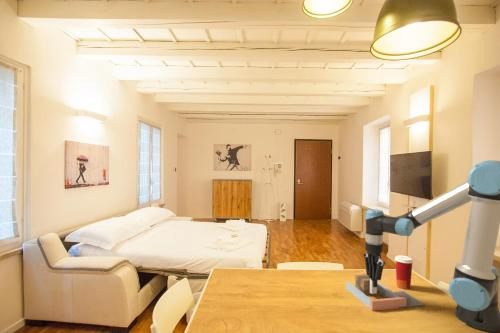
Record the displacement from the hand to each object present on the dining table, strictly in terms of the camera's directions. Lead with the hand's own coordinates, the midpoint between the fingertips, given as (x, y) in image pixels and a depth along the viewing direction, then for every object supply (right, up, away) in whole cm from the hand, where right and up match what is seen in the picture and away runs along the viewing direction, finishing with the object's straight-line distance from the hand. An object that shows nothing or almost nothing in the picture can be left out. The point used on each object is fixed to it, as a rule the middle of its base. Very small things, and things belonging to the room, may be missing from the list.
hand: (373, 292), depth 130 cm
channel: (0, -2, 0) cm, 2 cm away
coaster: (+12, -2, -3) cm, 12 cm away
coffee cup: (+20, -2, +11) cm, 23 cm away
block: (-1, -2, +6) cm, 6 cm away
